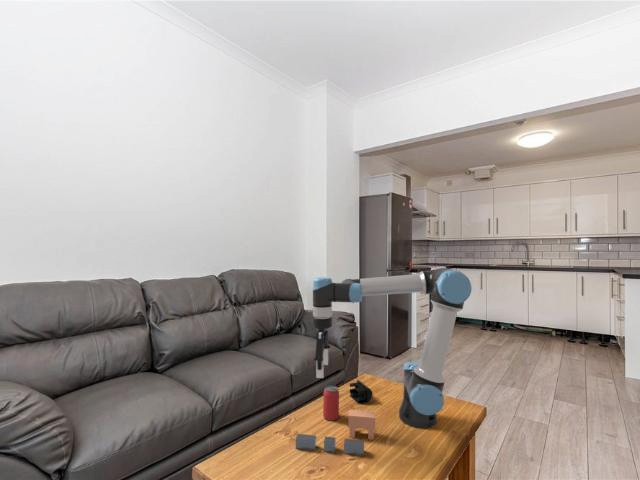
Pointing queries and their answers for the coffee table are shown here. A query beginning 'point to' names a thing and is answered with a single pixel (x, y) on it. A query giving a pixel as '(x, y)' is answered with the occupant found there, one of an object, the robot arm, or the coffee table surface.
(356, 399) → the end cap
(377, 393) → the coffee table surface
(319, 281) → the robot arm
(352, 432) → the salmon pink bridge block
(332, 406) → the beer can
